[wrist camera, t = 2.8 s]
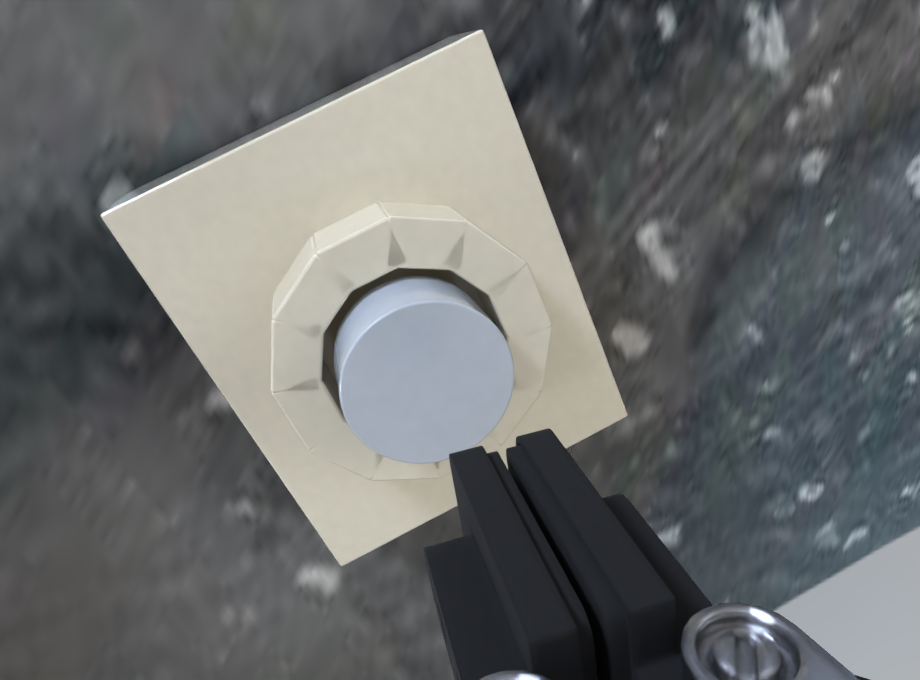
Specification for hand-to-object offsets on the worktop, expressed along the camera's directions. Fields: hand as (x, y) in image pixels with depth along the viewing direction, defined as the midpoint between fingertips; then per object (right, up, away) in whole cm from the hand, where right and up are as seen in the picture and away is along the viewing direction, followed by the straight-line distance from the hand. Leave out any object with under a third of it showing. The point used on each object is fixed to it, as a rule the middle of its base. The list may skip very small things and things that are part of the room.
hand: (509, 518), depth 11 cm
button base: (-3, +4, +10) cm, 11 cm away
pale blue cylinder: (-2, +3, +6) cm, 7 cm away
